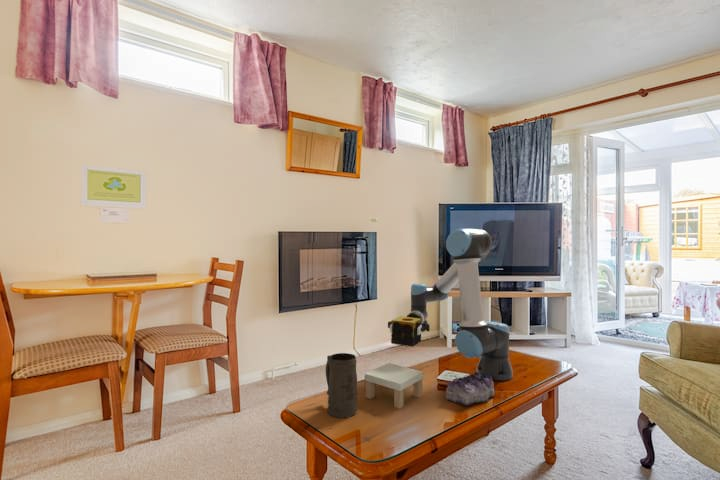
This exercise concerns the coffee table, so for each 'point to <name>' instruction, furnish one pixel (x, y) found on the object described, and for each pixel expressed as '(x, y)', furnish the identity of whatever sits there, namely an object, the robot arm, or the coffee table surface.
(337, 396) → the beer stein
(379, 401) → the coffee table surface
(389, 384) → the footstool
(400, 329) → the candle
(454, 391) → the geode
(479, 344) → the robot arm
